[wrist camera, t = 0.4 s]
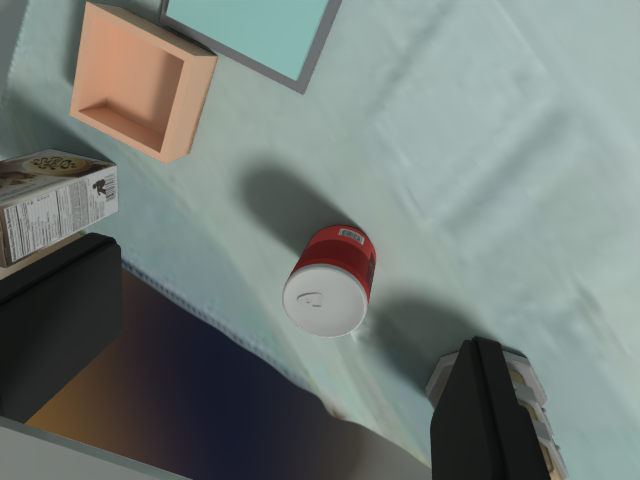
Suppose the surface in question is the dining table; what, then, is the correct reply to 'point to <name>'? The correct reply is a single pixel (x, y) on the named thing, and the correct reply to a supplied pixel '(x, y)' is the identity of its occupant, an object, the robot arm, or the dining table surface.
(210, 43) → the mat
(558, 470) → the tankard
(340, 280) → the canned food
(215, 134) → the dining table surface
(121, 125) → the pink storage bin
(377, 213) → the dining table surface
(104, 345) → the robot arm
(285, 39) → the lid
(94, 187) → the coffee box
